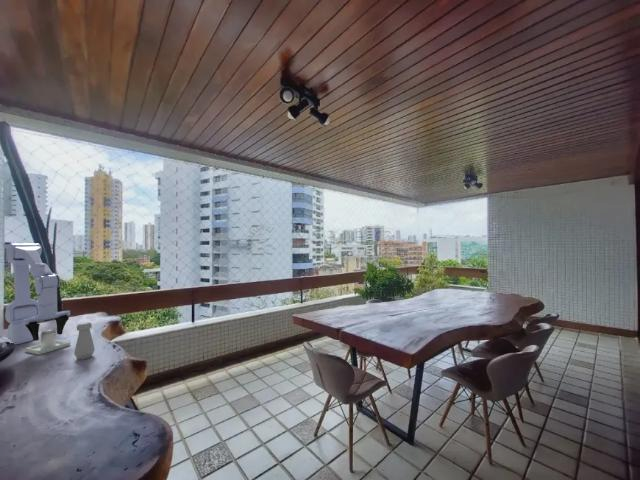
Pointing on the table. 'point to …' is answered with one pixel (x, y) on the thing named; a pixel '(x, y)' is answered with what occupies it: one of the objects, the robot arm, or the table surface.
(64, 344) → the tray
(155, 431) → the table surface
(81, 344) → the salt shaker
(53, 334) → the white shaker
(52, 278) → the robot arm
